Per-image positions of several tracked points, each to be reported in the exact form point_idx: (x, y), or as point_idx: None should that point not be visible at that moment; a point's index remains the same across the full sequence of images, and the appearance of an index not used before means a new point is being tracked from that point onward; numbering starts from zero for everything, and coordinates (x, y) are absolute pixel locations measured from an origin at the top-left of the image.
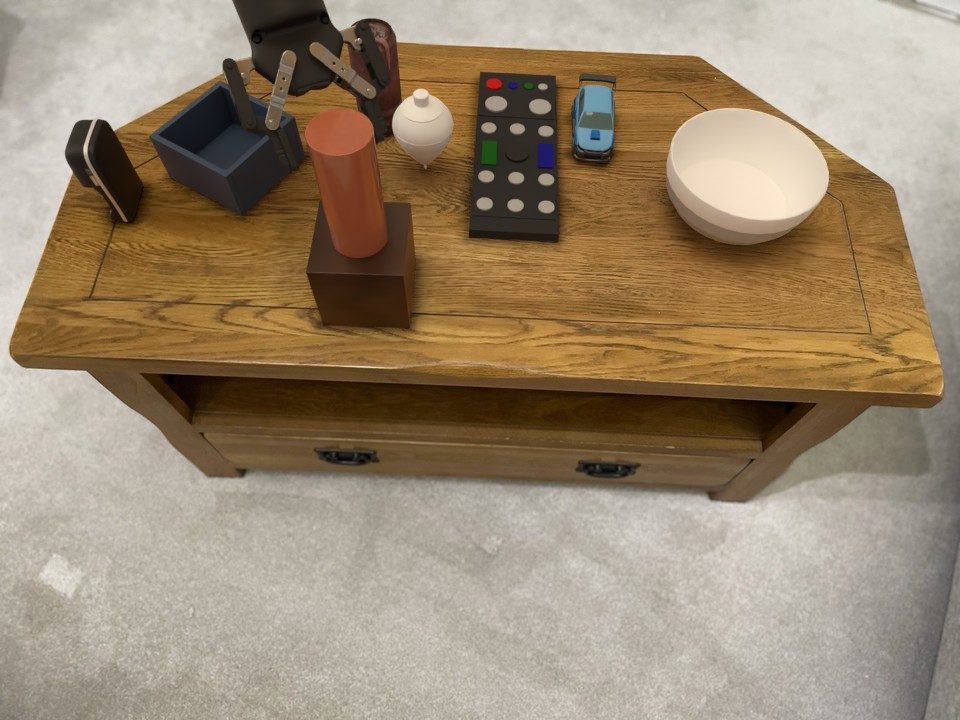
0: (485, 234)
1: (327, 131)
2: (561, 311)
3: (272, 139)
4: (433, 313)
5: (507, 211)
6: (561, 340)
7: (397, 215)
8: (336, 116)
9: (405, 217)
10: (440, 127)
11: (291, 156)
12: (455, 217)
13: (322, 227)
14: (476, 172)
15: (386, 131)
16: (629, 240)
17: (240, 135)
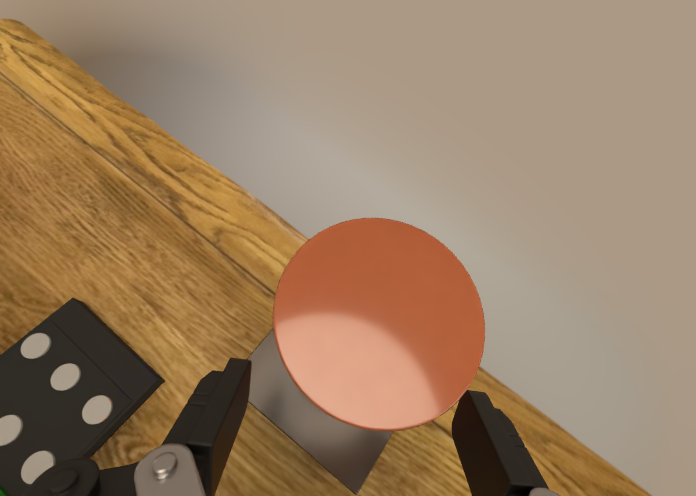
0: (145, 364)
1: (413, 330)
2: (171, 226)
3: (540, 477)
4: None
5: (85, 375)
6: (202, 202)
7: (263, 369)
8: (358, 375)
9: (255, 357)
10: None
11: (486, 410)
12: (148, 429)
13: None
14: None
15: (211, 373)
16: (13, 251)
17: None
